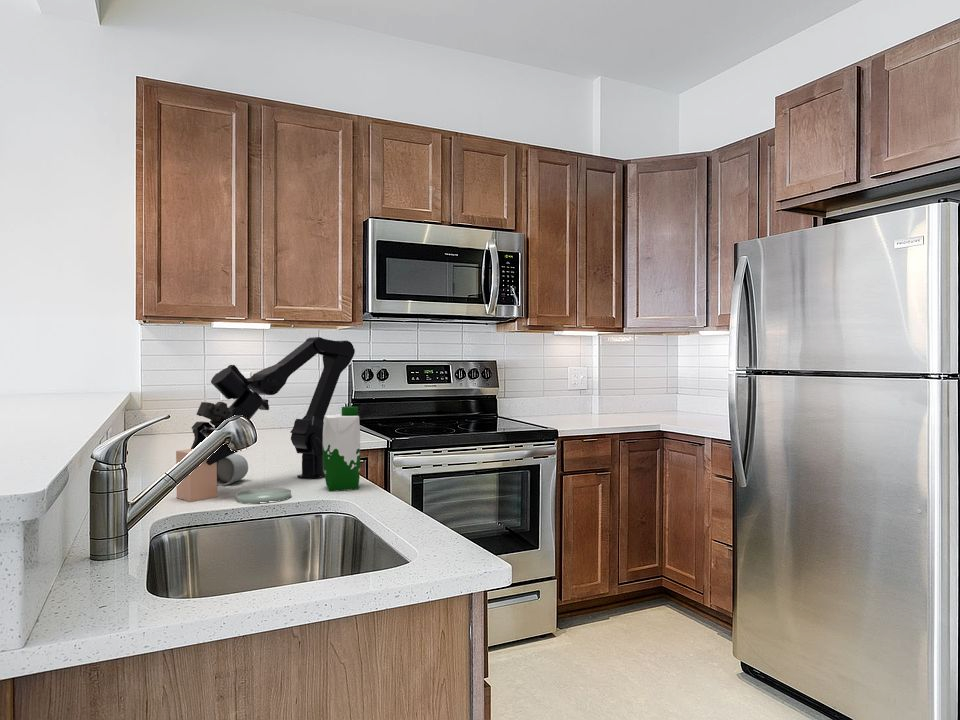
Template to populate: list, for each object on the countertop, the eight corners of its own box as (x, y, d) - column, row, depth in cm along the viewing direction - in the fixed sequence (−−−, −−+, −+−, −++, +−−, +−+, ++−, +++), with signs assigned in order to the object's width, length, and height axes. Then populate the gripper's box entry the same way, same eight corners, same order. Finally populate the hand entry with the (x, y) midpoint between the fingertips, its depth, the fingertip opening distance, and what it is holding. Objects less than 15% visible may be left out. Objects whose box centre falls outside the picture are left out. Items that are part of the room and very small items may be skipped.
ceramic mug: (250, 479, 172) (249, 451, 172) (235, 486, 164) (234, 455, 164) (213, 480, 173) (212, 451, 173) (196, 486, 165) (195, 456, 165)
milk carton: (362, 489, 157) (361, 407, 157) (324, 492, 154) (323, 409, 154) (358, 483, 165) (357, 405, 165) (321, 485, 163) (321, 406, 163)
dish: (257, 491, 156) (257, 486, 156) (301, 493, 153) (301, 488, 153) (225, 502, 145) (224, 497, 145) (271, 505, 141) (271, 499, 141)
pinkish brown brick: (203, 493, 155) (202, 447, 155) (217, 496, 151) (216, 449, 151) (176, 498, 150) (176, 451, 150) (190, 501, 146) (189, 453, 146)
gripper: (199, 389, 160) (154, 437, 152) (240, 390, 149) (193, 443, 140) (228, 418, 167) (187, 466, 158) (270, 422, 155) (227, 474, 146)
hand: (197, 462), depth 150 cm, fingers open, 9 cm apart
